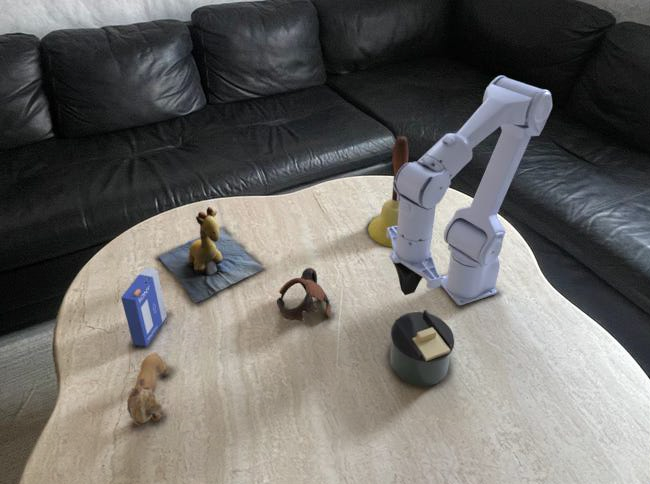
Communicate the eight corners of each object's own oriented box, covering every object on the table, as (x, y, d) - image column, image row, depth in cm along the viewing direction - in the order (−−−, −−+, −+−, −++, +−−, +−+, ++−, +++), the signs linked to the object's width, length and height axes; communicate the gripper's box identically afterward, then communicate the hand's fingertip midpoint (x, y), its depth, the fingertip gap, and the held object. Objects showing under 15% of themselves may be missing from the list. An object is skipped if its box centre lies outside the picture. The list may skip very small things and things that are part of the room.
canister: (377, 347, 93) (380, 317, 89) (428, 330, 96) (432, 300, 92) (407, 396, 84) (411, 366, 80) (462, 375, 88) (468, 345, 84)
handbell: (371, 212, 129) (376, 122, 116) (421, 218, 126) (431, 127, 114) (365, 243, 118) (370, 148, 106) (419, 250, 116) (430, 154, 104)
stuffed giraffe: (195, 303, 102) (187, 237, 95) (158, 258, 114) (148, 197, 107) (263, 270, 111) (260, 208, 104) (222, 232, 123) (216, 174, 116)
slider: (411, 340, 86) (412, 333, 85) (435, 332, 87) (436, 325, 87) (425, 361, 82) (427, 353, 81) (450, 352, 84) (451, 344, 83)
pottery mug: (333, 332, 96) (312, 311, 91) (290, 340, 100) (268, 320, 95) (336, 276, 105) (317, 254, 100) (296, 285, 108) (276, 265, 104)
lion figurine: (168, 440, 78) (159, 403, 73) (131, 448, 77) (120, 411, 72) (170, 361, 90) (162, 324, 86) (138, 366, 89) (129, 330, 85)
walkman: (146, 347, 93) (134, 298, 87) (133, 344, 93) (120, 295, 88) (168, 314, 100) (158, 267, 94) (155, 312, 100) (144, 265, 94)
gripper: (373, 211, 89) (369, 270, 96) (416, 264, 77) (409, 327, 84) (408, 202, 91) (402, 261, 98) (456, 252, 80) (445, 315, 86)
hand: (408, 291), depth 91 cm, fingers closed
